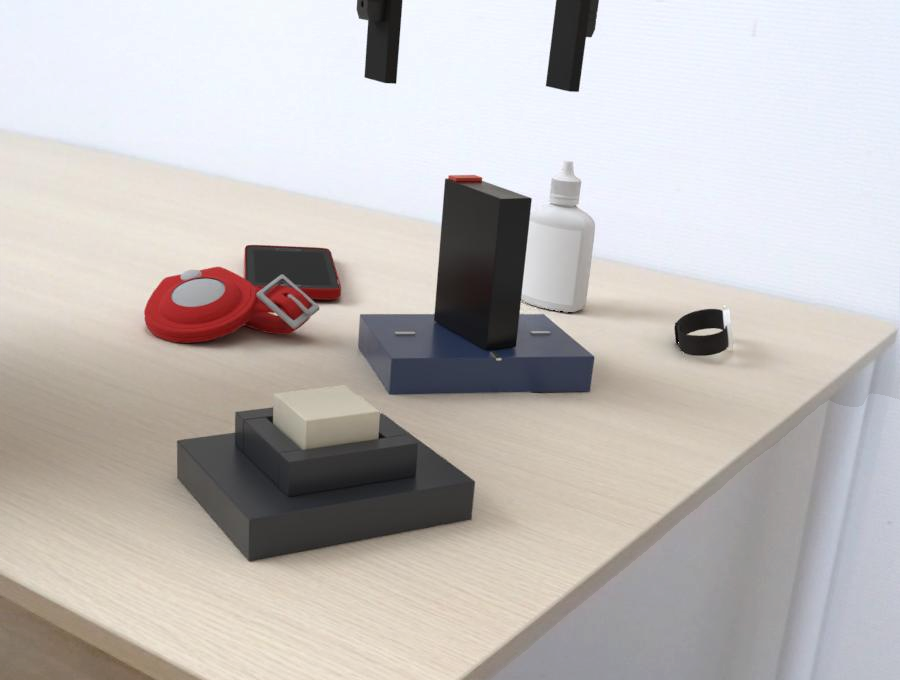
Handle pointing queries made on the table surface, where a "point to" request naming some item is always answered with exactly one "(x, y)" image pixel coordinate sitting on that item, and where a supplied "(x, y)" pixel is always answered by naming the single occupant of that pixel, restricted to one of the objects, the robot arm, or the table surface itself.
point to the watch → (707, 342)
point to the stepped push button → (318, 487)
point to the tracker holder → (223, 306)
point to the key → (325, 417)
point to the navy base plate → (471, 357)
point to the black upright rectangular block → (481, 261)
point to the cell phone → (294, 269)
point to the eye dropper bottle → (559, 248)
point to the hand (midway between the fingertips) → (475, 85)
